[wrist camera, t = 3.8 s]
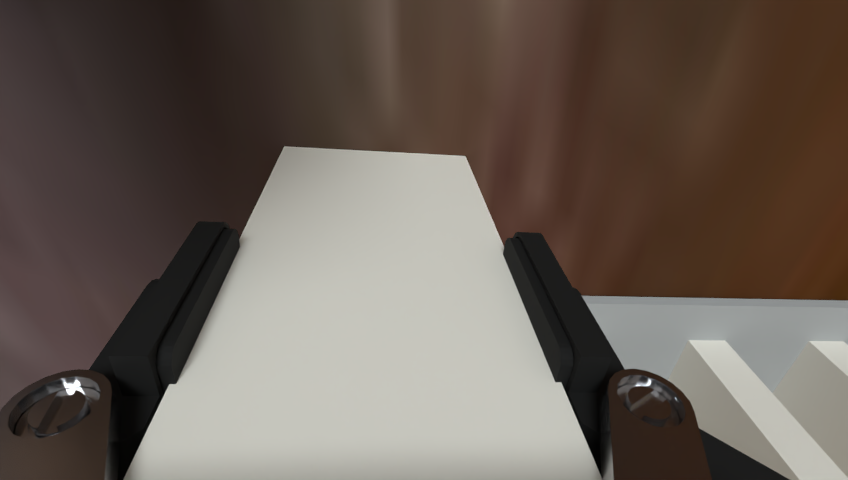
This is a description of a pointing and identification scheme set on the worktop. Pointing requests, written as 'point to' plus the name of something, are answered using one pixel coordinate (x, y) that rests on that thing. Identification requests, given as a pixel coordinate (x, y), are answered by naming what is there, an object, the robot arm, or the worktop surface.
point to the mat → (717, 329)
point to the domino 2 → (747, 412)
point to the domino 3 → (820, 396)
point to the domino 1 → (366, 340)
